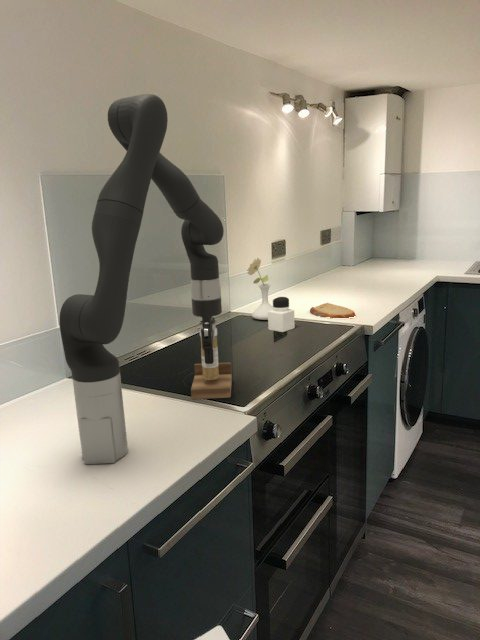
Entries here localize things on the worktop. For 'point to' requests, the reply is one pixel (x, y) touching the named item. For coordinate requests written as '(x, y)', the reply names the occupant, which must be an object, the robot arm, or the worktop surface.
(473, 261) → the worktop surface
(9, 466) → the worktop surface
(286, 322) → the medicine bottle
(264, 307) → the flower in vase
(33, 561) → the worktop surface
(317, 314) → the slice of bread
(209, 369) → the sprinkles bottle
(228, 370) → the dock
